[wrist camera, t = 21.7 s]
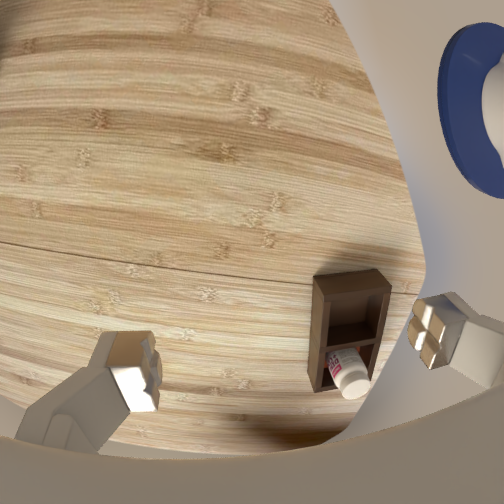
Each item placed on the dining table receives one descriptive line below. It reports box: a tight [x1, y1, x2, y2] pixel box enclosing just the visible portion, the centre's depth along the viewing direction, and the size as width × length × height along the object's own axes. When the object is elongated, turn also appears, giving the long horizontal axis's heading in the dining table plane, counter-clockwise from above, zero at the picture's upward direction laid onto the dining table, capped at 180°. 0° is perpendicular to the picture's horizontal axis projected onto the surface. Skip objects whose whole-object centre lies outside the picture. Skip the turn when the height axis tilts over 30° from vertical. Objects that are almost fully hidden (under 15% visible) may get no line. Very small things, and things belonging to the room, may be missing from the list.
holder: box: [307, 269, 392, 393], centre depth 42 cm, size 17×9×5 cm, turn 3°
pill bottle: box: [325, 347, 371, 399], centre depth 41 cm, size 5×5×8 cm
